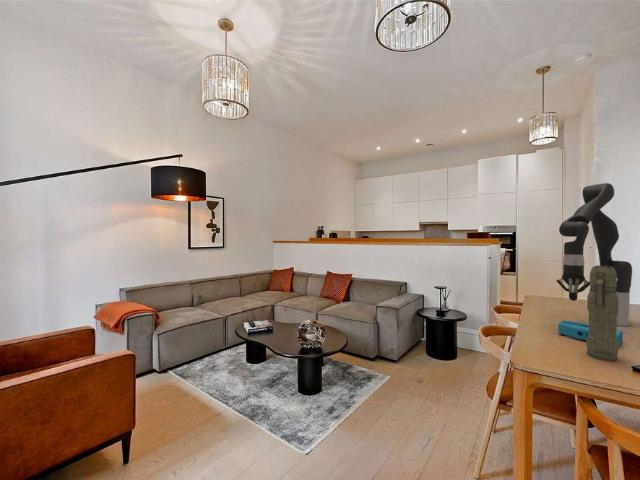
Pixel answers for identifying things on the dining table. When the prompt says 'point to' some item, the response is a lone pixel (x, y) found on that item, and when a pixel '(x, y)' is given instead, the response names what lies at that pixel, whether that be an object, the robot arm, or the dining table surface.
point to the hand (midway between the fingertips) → (572, 300)
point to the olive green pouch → (602, 313)
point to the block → (581, 330)
